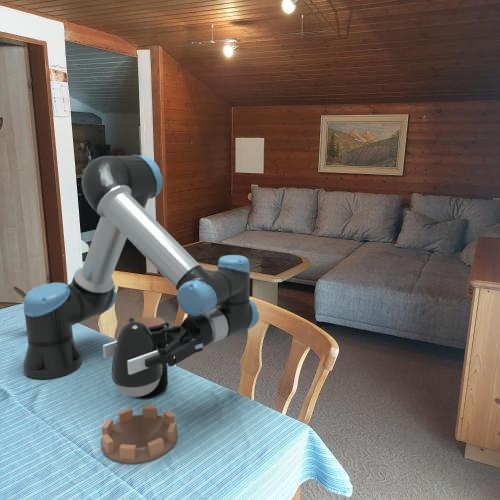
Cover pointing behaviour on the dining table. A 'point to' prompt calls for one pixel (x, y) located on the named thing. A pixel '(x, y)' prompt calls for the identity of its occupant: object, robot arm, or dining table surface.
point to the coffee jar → (164, 378)
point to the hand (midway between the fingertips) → (115, 359)
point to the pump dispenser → (128, 347)
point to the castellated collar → (139, 436)
